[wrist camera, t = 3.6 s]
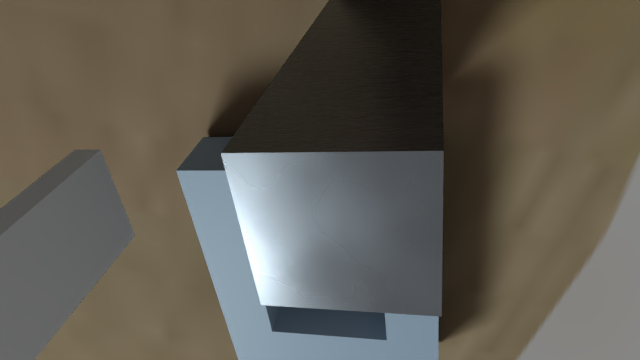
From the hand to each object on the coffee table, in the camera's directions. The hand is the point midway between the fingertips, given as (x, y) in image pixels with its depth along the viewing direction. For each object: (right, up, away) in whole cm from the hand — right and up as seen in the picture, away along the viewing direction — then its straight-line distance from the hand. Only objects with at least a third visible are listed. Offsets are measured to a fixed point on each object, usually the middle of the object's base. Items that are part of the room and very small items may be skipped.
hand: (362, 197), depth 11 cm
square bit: (+2, +6, +8) cm, 10 cm away
